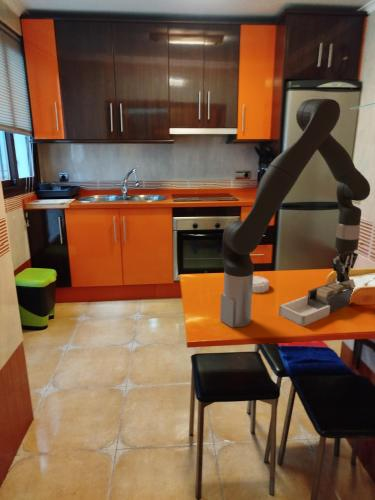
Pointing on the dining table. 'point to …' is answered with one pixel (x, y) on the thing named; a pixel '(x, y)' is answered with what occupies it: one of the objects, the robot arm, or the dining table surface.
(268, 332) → the dining table surface
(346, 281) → the scraper tool
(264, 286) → the mooncake
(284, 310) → the tray
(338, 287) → the chip
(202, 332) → the dining table surface
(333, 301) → the slot block
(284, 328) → the dining table surface
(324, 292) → the chip
